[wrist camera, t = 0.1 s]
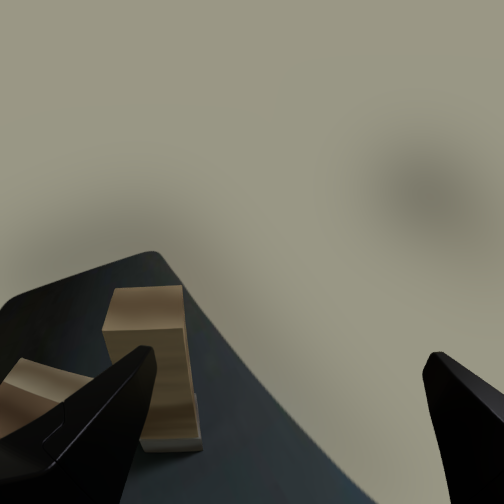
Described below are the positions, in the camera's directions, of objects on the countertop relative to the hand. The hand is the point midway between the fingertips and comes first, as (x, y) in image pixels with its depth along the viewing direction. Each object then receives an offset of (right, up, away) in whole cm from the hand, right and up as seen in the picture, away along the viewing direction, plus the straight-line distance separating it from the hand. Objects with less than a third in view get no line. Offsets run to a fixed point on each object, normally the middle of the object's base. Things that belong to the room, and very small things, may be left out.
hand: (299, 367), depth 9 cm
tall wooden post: (-8, -12, +14) cm, 20 cm away
